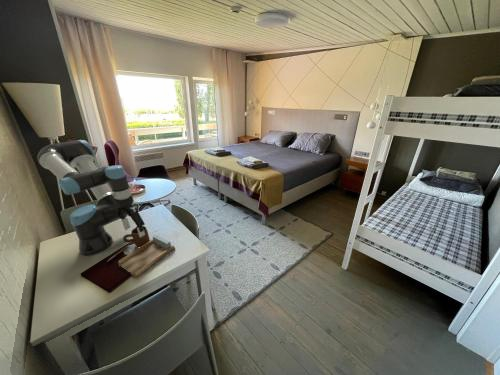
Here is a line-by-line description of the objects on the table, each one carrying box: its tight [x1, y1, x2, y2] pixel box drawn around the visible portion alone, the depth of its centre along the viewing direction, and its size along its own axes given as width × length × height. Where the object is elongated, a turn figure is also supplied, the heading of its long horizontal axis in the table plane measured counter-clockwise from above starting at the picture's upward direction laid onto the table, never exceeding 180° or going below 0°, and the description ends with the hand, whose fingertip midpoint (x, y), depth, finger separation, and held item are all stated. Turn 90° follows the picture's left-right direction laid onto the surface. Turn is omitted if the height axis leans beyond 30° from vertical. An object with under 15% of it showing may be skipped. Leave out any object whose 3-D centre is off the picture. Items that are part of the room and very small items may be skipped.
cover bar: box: [152, 234, 172, 249], centre depth 111 cm, size 12×2×4 cm, turn 59°
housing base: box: [117, 238, 176, 279], centre depth 104 cm, size 15×22×3 cm
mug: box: [122, 225, 151, 248], centre depth 112 cm, size 12×8×9 cm, turn 129°
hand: (134, 232), depth 110 cm, fingers open, 13 cm apart
